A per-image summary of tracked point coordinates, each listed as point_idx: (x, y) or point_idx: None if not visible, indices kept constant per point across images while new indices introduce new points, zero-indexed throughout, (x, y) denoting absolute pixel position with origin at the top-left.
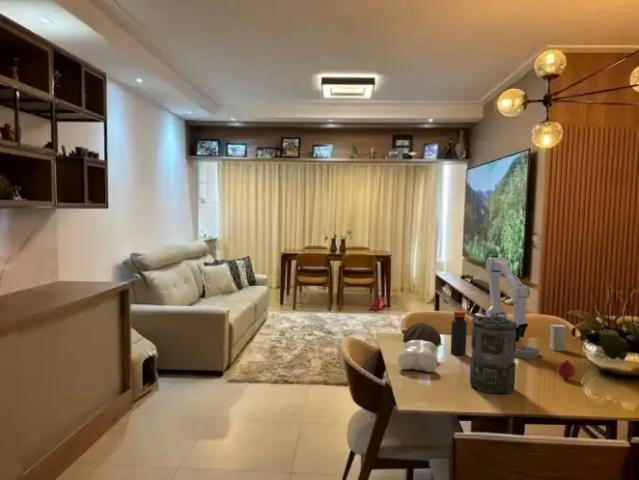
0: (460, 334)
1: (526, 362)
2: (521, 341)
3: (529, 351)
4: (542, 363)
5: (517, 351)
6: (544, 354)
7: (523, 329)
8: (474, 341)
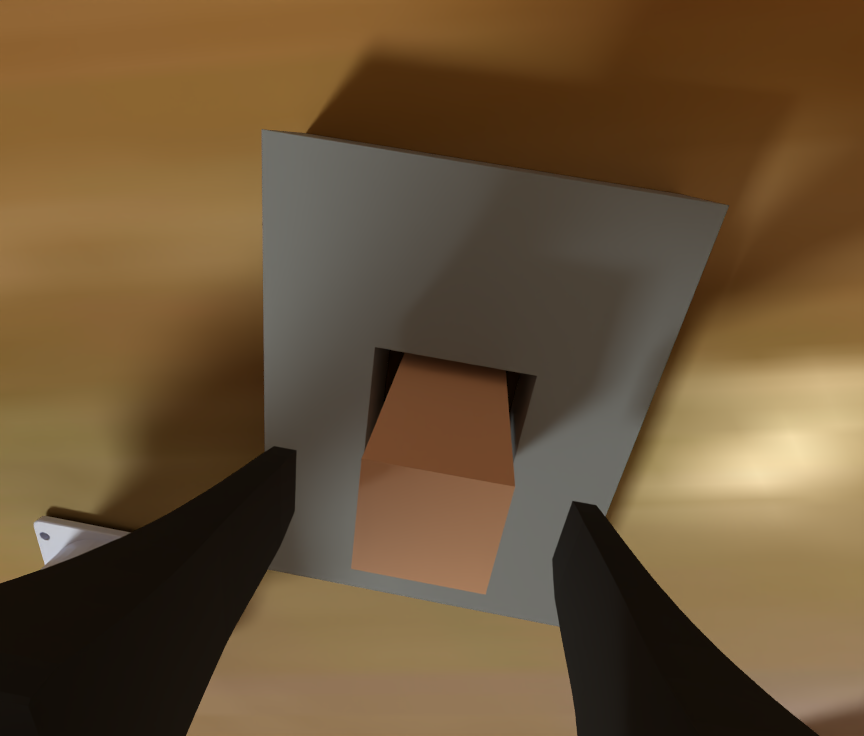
0: None
1: (854, 266)
2: (512, 457)
3: (632, 270)
4: (848, 26)
5: (633, 422)
6: (239, 49)
7: (185, 595)
8: None
